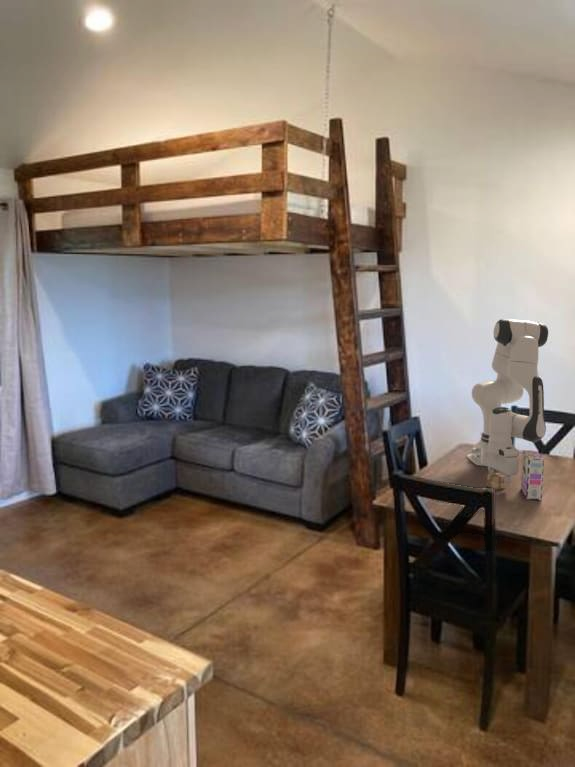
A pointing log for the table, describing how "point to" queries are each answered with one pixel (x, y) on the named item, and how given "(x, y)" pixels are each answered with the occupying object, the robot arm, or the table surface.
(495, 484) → the maple cube
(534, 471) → the candy box
